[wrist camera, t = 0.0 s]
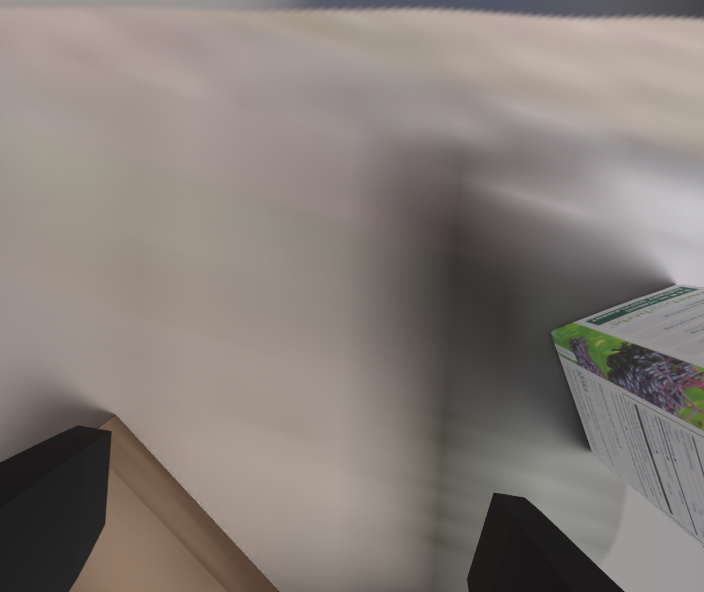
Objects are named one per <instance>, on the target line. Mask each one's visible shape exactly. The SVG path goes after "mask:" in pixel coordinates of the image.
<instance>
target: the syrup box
mask: <svg viewBox="0 0 704 592" xmlns="http://www.w3.org/2000/svg"><path fill="white" fill-rule="evenodd" d="M551 335H552V337H553V340H554V343H555V347H556V349H557V352H558V355H559V358H560V361H561V363H562V366H563V369H564V372H565V375H566V378H567V381H568V384H569V387H570V390H571V393H572V395H573V398H574V401H575V404H576V407H577V410H578V413H579V416H580V418H581V421H582V424H583V427H584V430H585V433H586V436H587V439H588V442H589V445H590V447H591V450H592V453H593V455H594V456H595V457H596V458H598V459H599V460H600V461H601V462H602V463H603V464H605V465H606V466H607V467H608V468H609V469H610V470H612V471H613V472H615V473H616V474H617V475H618V476H620V477H621V478H622V479H623V480H624V481H626V482H627V483H628V484H629V485H631V486H632V487H633V488H634V489H635V490H636V491H638V492H639V493H640V494H641V495H642V496H644V497H645V498H646V499H647V500H648V501H649V502H651V503H652V504H653V505H654V506H655V507H656V508H658V509H659V510H660V511H662V512H663V513H664V514H665V515H666V516H668V517H669V518H670V519H671V520H672V521H673V522H675V523H676V524H677V525H678V526H680V527H681V528H682V529H683V530H684V531H685V532H687V533H688V534H689V535H690V536H691V537H693V538H694V539H695V540H696V541H697V542H698V543H699V544H701V545H702V546H703V547H704V288H703V287H696V286H689V285H674V286H671V287H669V288H666V289H663V290H660V291H658V292H655V293H652V294H649V295H646V296H643V297H640V298H637V299H634V300H631V301H628V302H626V303H623V304H620V305H618V306H615V307H612V308H609V309H607V310H604V311H601V312H599V313H596V314H594V315H591V316H589V317H586V318H583V319H581V320H578V321H575V322H573V323H570V324H568V325H565V326H563V327H560V328H557V329H554V330H553V331H552V333H551Z"/></svg>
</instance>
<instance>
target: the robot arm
mask: <svg viewBox="0 0 704 592" xmlns="http://www.w3.org/2000/svg"><path fill="white" fill-rule="evenodd" d="M111 436H112V431H108V430H102V429H96V428H90V427H83V426H76V427H74V428H71V429H69V430H67V431H64V432H62V433H60V434H58V435H56V436H54V437H52V438H50V439H48V440H45V441H43V442H41V443H39V444H37V445H35V446H33V447H31V448H29V449H27V450H25V451H23V452H21V453H19V454H17V455H15V456H13V457H11V458H9V459H7V460H5V461H2V462H0V592H69V591H70V589H71V588H72V586H73V585H74V583H75V582H76V580H77V578H78V576H79V575H80V573H81V571H82V569H83V567H84V565H85V563H86V561H87V560H88V558H89V556H90V554H91V552H92V550H93V548H94V546H95V544H96V542H97V540H98V538H99V536H100V534H101V532H102V530H103V528H104V526H105V521H106V507H107V493H108V478H109V464H110V450H111ZM467 582H468V589H469V592H624V591H623V590H622V589H621V588H620V587H619V586H618V585H617V584H616V583H615V582H614V581H613V580H611V579H610V578H609V577H608V576H607V575H606V574H605V573H604V572H603V571H602V570H601V569H600V568H599V567H598V566H597V565H596V564H595V563H594V562H593V561H592V560H591V559H590V558H589V557H587V556H586V555H585V554H584V553H583V552H582V551H581V550H580V549H579V548H578V547H577V546H576V545H575V544H574V543H573V542H572V541H571V540H570V539H569V538H568V537H567V536H566V535H565V534H564V533H563V532H562V531H561V530H560V529H559V528H558V527H557V526H555V525H554V524H553V523H552V522H551V521H550V520H549V519H548V518H547V517H546V516H545V515H544V514H543V513H542V512H541V511H540V510H539V509H537V508H536V507H535V506H534V505H533V504H532V503H531V502H529V501H528V500H527V499H526V498H524V497H518V496H512V495H506V494H499V493H493V497H492V500H491V503H490V506H489V510H488V513H487V516H486V519H485V523H484V526H483V529H482V532H481V536H480V539H479V542H478V545H477V548H476V552H475V555H474V558H473V561H472V565H471V568H470V571H469V574H468V578H467Z"/></svg>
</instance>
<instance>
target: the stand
mask: <svg viewBox="0 0 704 592" xmlns="http://www.w3.org/2000/svg"><path fill="white" fill-rule="evenodd" d="M98 429H102V430H108V431H112V436H111V450H110V464H109V478H108V493H107V507H106V521H105V526H104V528H103V530H102V532H101V534H100V536H99V538H98V540H97V542H96V544H95V546H94V548H93V550H92V552H91V554H90V556H89V558H88V560H87V561H86V563H85V565H84V567H83V569H82V571H81V573H80V575H79V576H78V578H77V580H76V582H75V583H74V585H73V586H72V588H71V589H70V591H69V592H279V591H278V590H277V589H276V588H275V587H274V586H273V585H272V584H271V582H270V581H269V580H268V579H267V578H266V577H265V576H264V575H263V574H262V573H261V572H260V571H259V570H258V568H257V567H256V566H255V565H254V564H253V563H252V562H251V561H250V560H249V559H248V558H247V557H246V555H245V554H244V553H243V552H242V551H241V550H240V549H239V548H238V547H237V546H236V545H235V544H234V542H233V541H232V540H231V539H230V538H229V537H228V536H227V535H226V534H225V533H224V532H223V531H222V530H221V528H220V527H219V526H218V525H217V524H216V523H215V522H214V521H213V520H212V519H211V518H210V517H209V515H208V514H207V513H206V512H205V511H204V510H203V509H202V508H201V507H200V506H199V505H198V504H197V502H196V501H195V500H194V499H193V498H192V497H191V496H190V495H189V494H188V493H187V492H186V491H185V490H184V488H183V487H182V486H181V485H180V484H179V483H178V482H177V481H176V480H175V479H174V478H173V477H172V475H171V474H170V473H169V472H168V471H167V470H166V469H165V468H164V467H163V466H162V465H161V464H160V462H159V461H158V460H157V459H156V458H155V457H154V456H153V455H152V454H151V453H150V452H149V451H148V450H147V448H146V447H145V446H144V445H143V444H142V443H141V442H140V441H139V440H138V439H137V438H136V437H135V435H134V434H133V433H132V432H131V431H130V430H129V429H128V428H127V427H126V426H125V425H124V424H123V422H122V421H121V420H120V419H119V418H118V417H117V416H116V415H115V416H113V417H112V418H111V419H110V420H108V421H107V422H106V423H105V424H103V425H102V426H101V427H100V428H98Z"/></svg>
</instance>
